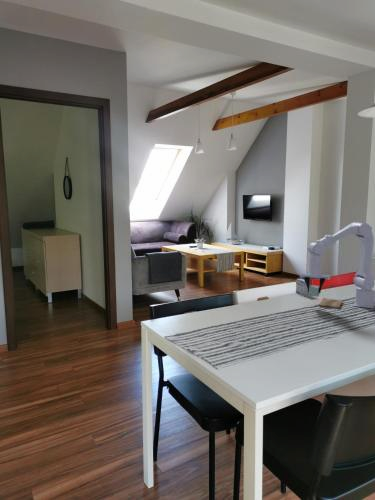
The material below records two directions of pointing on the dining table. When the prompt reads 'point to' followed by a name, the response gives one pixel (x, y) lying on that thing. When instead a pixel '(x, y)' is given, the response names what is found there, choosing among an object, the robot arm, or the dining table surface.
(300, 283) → the medicine box
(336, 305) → the walnut board
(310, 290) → the teal cube
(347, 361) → the dining table surface
